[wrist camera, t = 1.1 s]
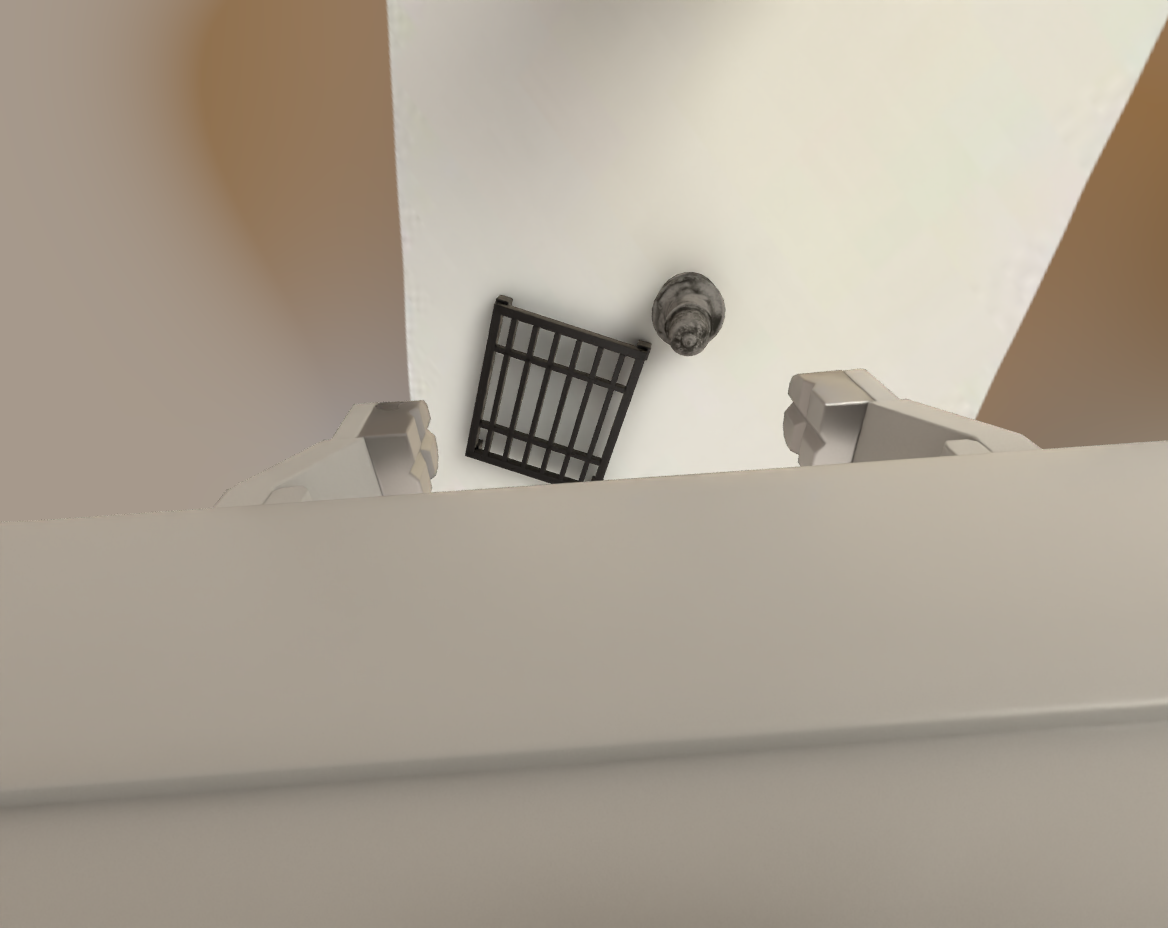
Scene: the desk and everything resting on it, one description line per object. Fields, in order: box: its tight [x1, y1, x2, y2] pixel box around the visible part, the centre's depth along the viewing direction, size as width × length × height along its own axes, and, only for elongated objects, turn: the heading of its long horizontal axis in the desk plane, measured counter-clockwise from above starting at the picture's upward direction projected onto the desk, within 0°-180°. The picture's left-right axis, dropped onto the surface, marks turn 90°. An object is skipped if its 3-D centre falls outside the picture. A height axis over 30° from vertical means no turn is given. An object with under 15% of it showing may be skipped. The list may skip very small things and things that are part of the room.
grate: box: [465, 295, 651, 484], centre depth 54 cm, size 16×14×2 cm
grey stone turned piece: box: [652, 272, 725, 356], centre depth 43 cm, size 6×6×12 cm
